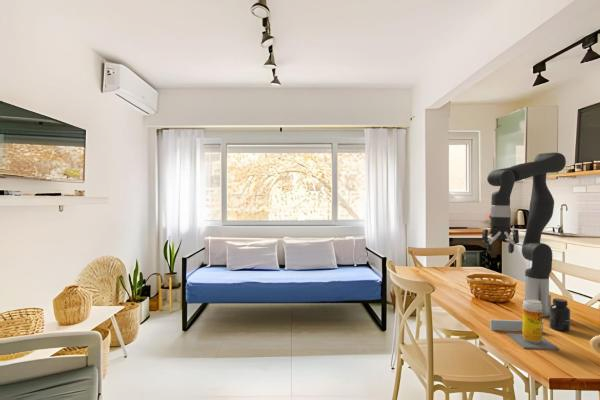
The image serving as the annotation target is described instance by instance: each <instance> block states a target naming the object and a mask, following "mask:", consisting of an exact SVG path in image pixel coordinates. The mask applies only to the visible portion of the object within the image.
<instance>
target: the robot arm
mask: <svg viewBox="0 0 600 400" xmlns="http://www.w3.org/2000/svg"><path fill="white" fill-rule="evenodd" d="M566 161H567V160H566V157H565V155H564V154H562V153H561V152H546V153H545V152H544V153H538V154H537V155H536V156H535V157H534V159H533V161H530V162H523V163H518V164H515V165H512V166H510V167H504V168H499V169H495V170H493V171H492V170H491V171H490V173H488V175H487V177H486V179H487V183H488V184H489V185H490V186H493V187H499V188H498V189H499V190H497V191H494V192H492V194H491V202H490V203H491V204H490V205H491V207H490V229H487V228H483V229H482V234H481V236H482V238H481V242H482V243H485V245H486V251H487V253H488V254H492V253H493V245H492V243H494V242H495V241H496V240H505V241H506V242H507V243H508V246H507V247H508V248H507V250H508V253H509V254H513V253H514V251H515V245H516V244H519V243H520V237H519V235H520V233H519V230H518V229H517V228H513V229H511V226H512V225H511V218H512V212H511V211H512V210H511V196H512V195H511V194H512V191H513V188H514V185H515V182H520V181H522V180H526V179H529V178H532V185H531V186H532V189H531V194H530V201H529V209H528V219H527V224H526V229H525V234H524V238H523V242H522V245H521V255H522V256H523V258H524V259H525V260H527V261H530V262H531V267H530V268H526V269H525V271H524V274H525V275H524V299H535V300H539V301H541V304H542V318H543V317H544V318H545V317H550V306H551V305H552V295H551V294H550V274H551V272H552V268H553V267H552V266H553V250H552V248H551V246H550V245H549V244H546V243H542V242H541V240H542V239H541V238H542V234H543V231H544V229H545V227H546V226H547V225H548V224H549V223H550V221H551V219H552V217H553V214H554V210H555V209H554V207H555V199H554V197H553V195H552V193H551V191H550V188H548V185H547V174H549V173H551V174H552V173H553V174H554V173H559V172H561V171H562V170H564V168H565V167H566V165H567V164H566V163H567V162H566ZM489 234H490V236H489ZM510 235H512V237H511V236H510ZM488 236H489V237H488Z"/></svg>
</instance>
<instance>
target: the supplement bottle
mask: <svg viewBox="0 0 600 400" xmlns="http://www.w3.org/2000/svg"><path fill="white" fill-rule="evenodd" d="M549 327H550V328H551V329H552V330H556V331H558V332H569V331H571V309H570V307H568V300H567V299H564V298H553V299H552V304H551V306H550V316H549Z"/></svg>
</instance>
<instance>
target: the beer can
mask: <svg viewBox="0 0 600 400" xmlns="http://www.w3.org/2000/svg"><path fill="white" fill-rule="evenodd" d="M522 321H523V328H522V331H521V332H522V333H521V334H522V337H523V338H524V340H526V341H528V342H531V343H540V342H541V341H542V337H543V332H542V322H543V317H542V304H541V301H539V300H535V299H525V298H524V299H523V301H522Z"/></svg>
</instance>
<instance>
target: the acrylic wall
mask: <svg viewBox="0 0 600 400" xmlns="http://www.w3.org/2000/svg"><path fill="white" fill-rule="evenodd" d="M489 321H490V322H489V329H490V330H491V331H507V332H522V328H523V320H516V319H515V320H514V319H491V318H490V320H489ZM542 333H544V321H542Z"/></svg>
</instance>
